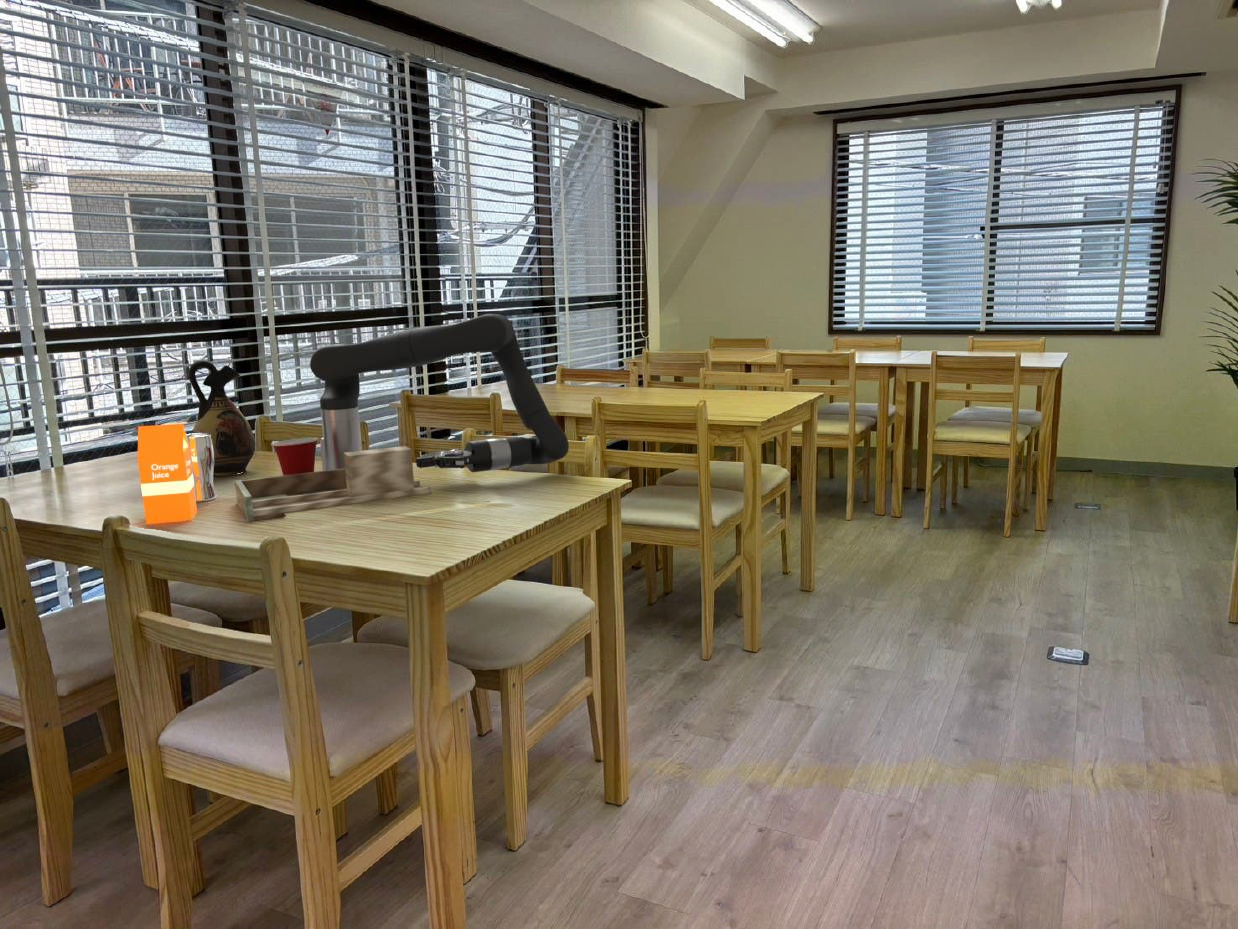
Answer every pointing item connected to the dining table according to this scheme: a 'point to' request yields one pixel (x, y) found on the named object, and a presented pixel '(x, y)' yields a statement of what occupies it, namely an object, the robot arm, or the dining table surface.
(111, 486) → the dining table surface
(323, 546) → the dining table surface
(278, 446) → the plastic cup
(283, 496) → the pad
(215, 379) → the ceramic jug
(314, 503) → the board
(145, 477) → the orange juice
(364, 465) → the beech block
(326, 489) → the pads
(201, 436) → the beer glass
